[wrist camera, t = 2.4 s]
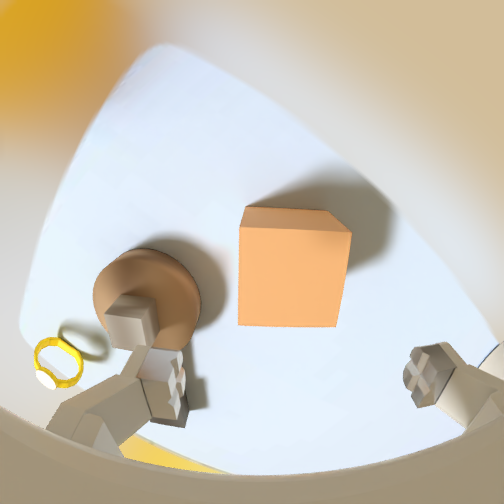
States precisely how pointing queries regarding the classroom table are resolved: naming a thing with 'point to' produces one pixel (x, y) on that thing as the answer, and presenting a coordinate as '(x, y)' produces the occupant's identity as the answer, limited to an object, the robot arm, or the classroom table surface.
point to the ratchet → (148, 306)
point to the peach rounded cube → (291, 267)
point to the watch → (46, 375)
